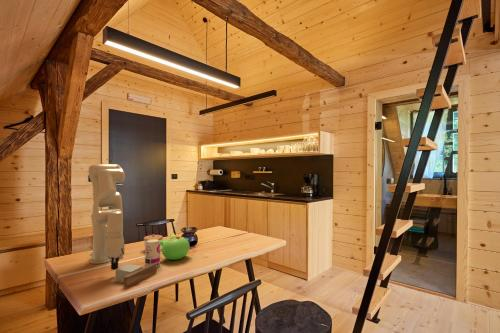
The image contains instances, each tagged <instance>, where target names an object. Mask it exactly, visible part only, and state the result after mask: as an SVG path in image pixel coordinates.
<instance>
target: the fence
mask: <svg viewBox="0 0 500 333" xmlns="http://www.w3.org/2000/svg"><path fill="white" fill-rule="evenodd" d="M156 273H157V267H156V263H152V264H150V265H147V266H145V265H144V266H142V268H141V269H139V270H137V271H135V272H133V273H131V274H129V275H126V276H124V282H123V287H124V288H127V289H128V288H130V287H132V286H134V285H136V284H138V283H139V282H142V281H143V280H145V279H147V278H149V277H151V276H153V275H155V274H156Z"/></svg>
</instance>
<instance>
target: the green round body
mask: <svg viewBox="0 0 500 333" xmlns="http://www.w3.org/2000/svg"><path fill="white" fill-rule="evenodd" d="M160 245H161V254H162V256H163V257H164V258H166V259H167V260H171V261H174V260H175V261H176V260H180V259H182V258H184V257H185V256H186V255H187V254H188V253H189V250H190V247H191V245H190V242H189V241H188V239H187V238H186V237H184V236H180V235H179V236H178V235H177V236H176V234H175V233H172V234H171V236H170V238H168V239H166V240H162V241H160Z"/></svg>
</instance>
